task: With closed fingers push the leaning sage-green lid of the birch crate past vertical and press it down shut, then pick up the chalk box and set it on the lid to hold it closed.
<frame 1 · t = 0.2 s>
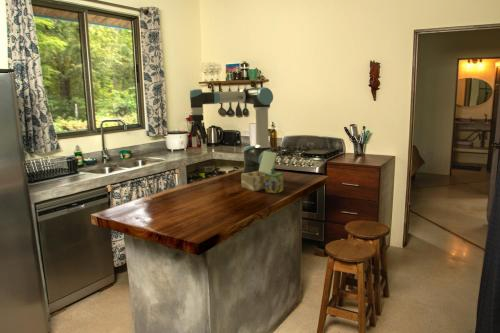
hand: (199, 148, 250), 28 cm above the countertop, fingers open, 13 cm apart
lid: (267, 162, 260), point 16 cm above the countertop, hinge at 110.0°
chalk box: (274, 191, 247), on the countertop
crate: (256, 187, 258), on the countertop
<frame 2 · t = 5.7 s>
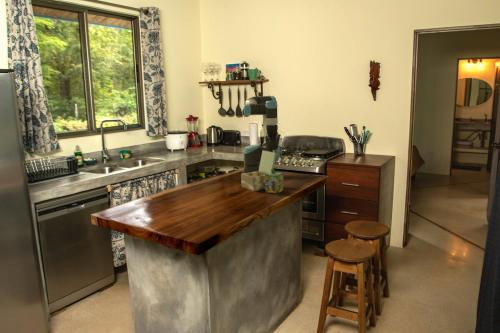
hand: (272, 159, 262), 17 cm above the countertop, fingers closed
lid: (267, 162, 260), point 16 cm above the countertop, hinge at 105.1°, touching gripper
everything else where it was.
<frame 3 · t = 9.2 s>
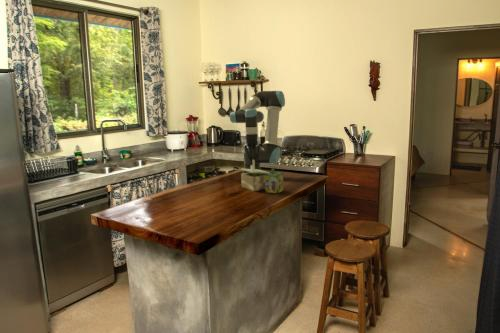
hand: (252, 169, 255), 12 cm above the countertop, fingers closed
lid: (256, 171, 256), point 11 cm above the countertop, hinge at 10.6°, touching gripper
everything else where it was.
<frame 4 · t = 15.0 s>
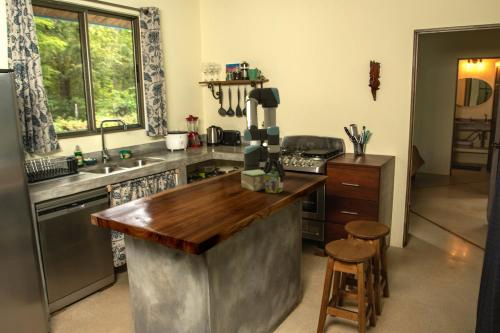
hand: (274, 185, 245), 4 cm above the countertop, fingers open, 12 cm apart
lid: (256, 172, 256), point 10 cm above the countertop, hinge at 2.3°
everything else where it was.
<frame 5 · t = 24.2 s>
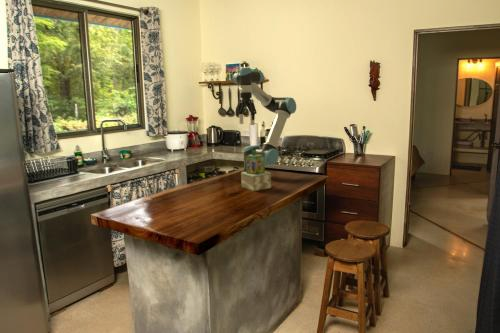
hand: (246, 124, 262), 41 cm above the countertop, fingers open, 13 cm apart
lid: (256, 173, 256), point 10 cm above the countertop, hinge at -0.3°, touching chalk box
chalk box: (255, 172, 256), point 10 cm above the countertop, touching lid
at the end: lid at +0° (first picture: +110°); chalk box inside the target area on the crate (0.2 cm from its centre), point 9.9 cm above the crate's base; chalk box tilted 0° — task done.
